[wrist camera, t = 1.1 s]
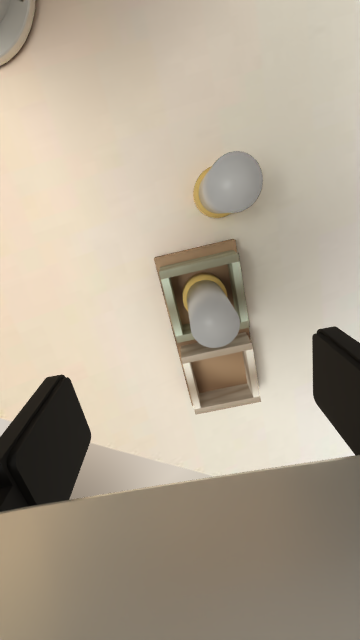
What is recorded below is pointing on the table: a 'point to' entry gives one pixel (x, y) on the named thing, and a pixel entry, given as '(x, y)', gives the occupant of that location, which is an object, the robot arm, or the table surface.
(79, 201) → the table surface
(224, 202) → the grey rounded cylinder
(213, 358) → the socket board
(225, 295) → the seated sleeve
